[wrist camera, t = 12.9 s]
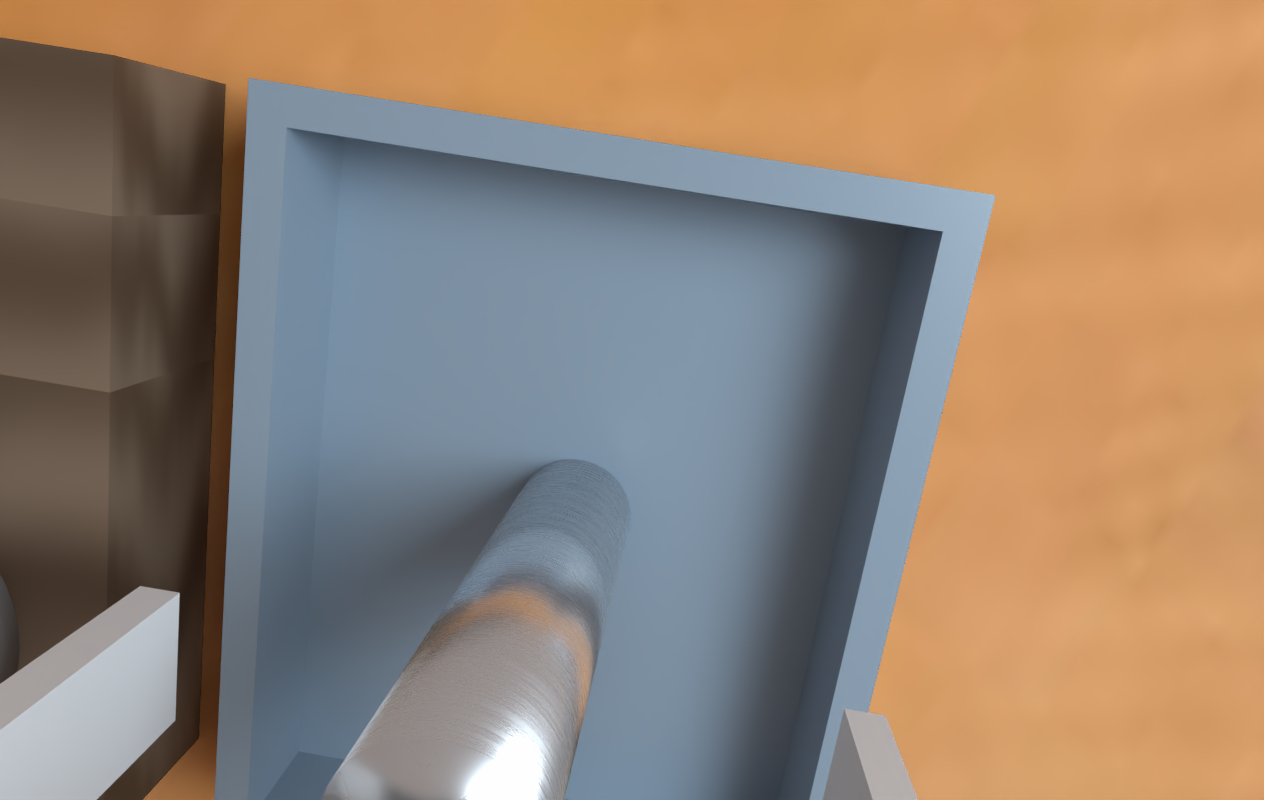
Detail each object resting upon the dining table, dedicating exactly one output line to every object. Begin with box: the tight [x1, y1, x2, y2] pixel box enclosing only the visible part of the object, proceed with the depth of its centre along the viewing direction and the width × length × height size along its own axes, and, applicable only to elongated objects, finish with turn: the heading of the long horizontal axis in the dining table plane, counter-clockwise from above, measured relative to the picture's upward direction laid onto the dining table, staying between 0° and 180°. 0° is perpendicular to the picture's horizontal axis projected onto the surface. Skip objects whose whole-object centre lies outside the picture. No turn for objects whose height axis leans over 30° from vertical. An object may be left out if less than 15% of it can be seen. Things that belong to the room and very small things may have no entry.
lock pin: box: [321, 459, 631, 800], centre depth 19 cm, size 4×4×14 cm
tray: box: [215, 78, 995, 800], centre depth 25 cm, size 22×18×4 cm
